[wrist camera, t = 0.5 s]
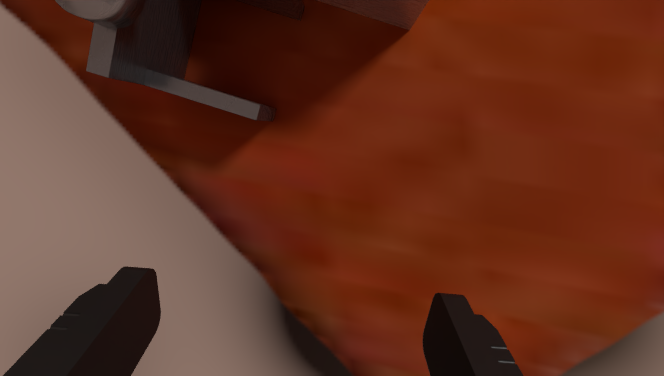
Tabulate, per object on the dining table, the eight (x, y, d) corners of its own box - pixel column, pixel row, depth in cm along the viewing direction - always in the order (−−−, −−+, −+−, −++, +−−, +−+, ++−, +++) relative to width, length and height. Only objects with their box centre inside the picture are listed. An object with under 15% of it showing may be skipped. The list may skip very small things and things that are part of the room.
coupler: (168, -37, 30) (48, -145, 18) (304, 6, 31) (274, -72, 18) (145, 80, 32) (22, 54, 20) (273, 121, 32) (227, 118, 20)
